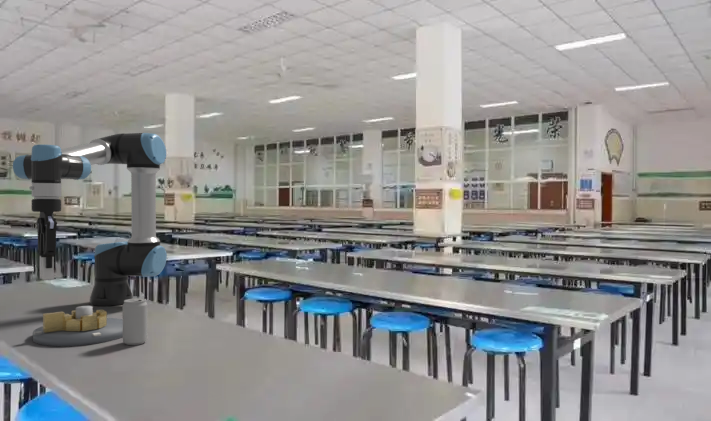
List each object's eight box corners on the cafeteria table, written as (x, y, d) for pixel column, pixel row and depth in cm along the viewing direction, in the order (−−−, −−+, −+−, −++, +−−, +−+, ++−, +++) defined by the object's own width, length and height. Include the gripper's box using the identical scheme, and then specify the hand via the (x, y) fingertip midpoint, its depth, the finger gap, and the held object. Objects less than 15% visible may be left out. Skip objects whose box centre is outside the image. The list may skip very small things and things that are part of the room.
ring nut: (98, 320, 167) (98, 304, 167) (110, 327, 158) (110, 310, 158) (39, 328, 156) (39, 311, 156) (48, 335, 148) (48, 317, 147)
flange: (115, 320, 177) (115, 296, 177) (145, 335, 158) (145, 308, 158) (24, 332, 160) (24, 305, 160) (44, 351, 140) (44, 321, 140)
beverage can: (138, 346, 146) (138, 302, 146) (117, 345, 147) (117, 301, 147) (152, 340, 152) (152, 298, 152) (131, 339, 154) (131, 297, 153)
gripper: (25, 197, 160) (26, 276, 161) (38, 198, 148) (38, 283, 149) (54, 198, 165) (54, 274, 166) (68, 198, 153) (68, 280, 154)
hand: (46, 278), depth 157 cm, fingers open, 3 cm apart
